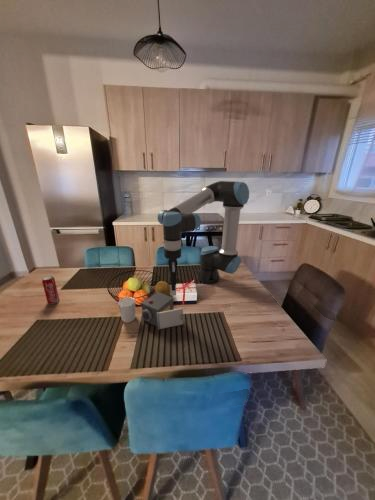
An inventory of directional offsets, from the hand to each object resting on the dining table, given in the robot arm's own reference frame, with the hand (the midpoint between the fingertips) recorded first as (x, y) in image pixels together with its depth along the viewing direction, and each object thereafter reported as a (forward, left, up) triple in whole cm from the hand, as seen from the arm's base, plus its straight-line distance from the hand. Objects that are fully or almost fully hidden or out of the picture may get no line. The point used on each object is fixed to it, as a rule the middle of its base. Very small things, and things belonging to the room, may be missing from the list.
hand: (173, 294), depth 98 cm
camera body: (+3, -8, -15) cm, 17 cm away
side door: (+5, +2, -15) cm, 15 cm away
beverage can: (+24, -67, -15) cm, 73 cm away
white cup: (+11, -20, -15) cm, 27 cm away
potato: (-14, -18, -15) cm, 27 cm away
